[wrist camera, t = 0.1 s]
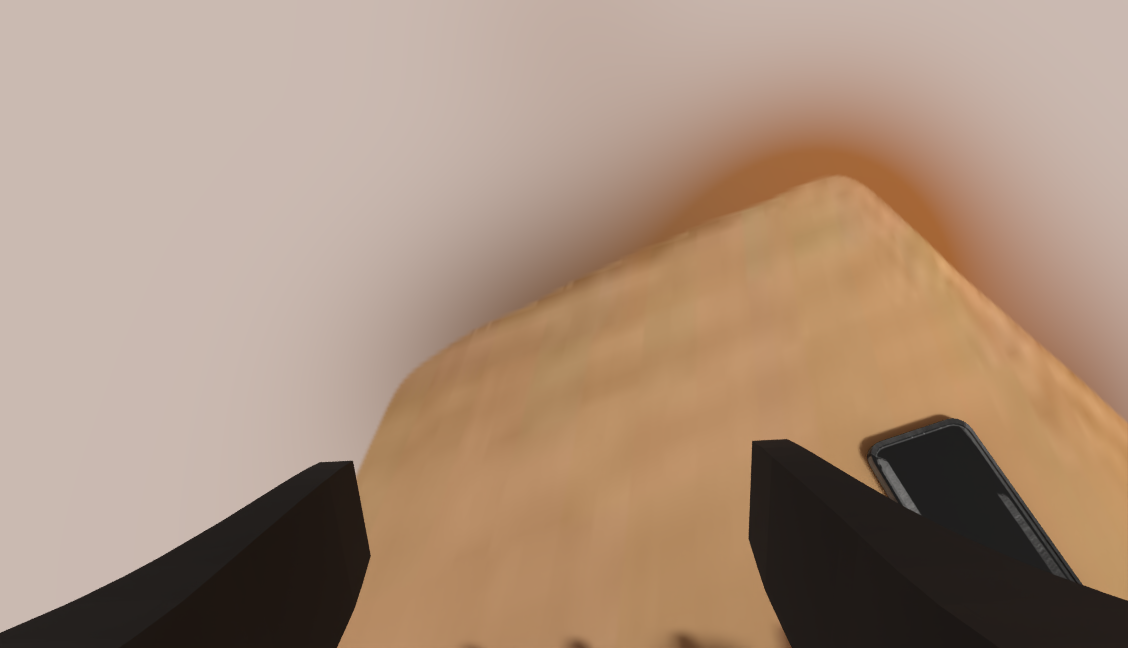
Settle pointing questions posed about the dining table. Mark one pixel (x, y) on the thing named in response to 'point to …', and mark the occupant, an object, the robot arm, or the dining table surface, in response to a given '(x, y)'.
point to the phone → (963, 492)
